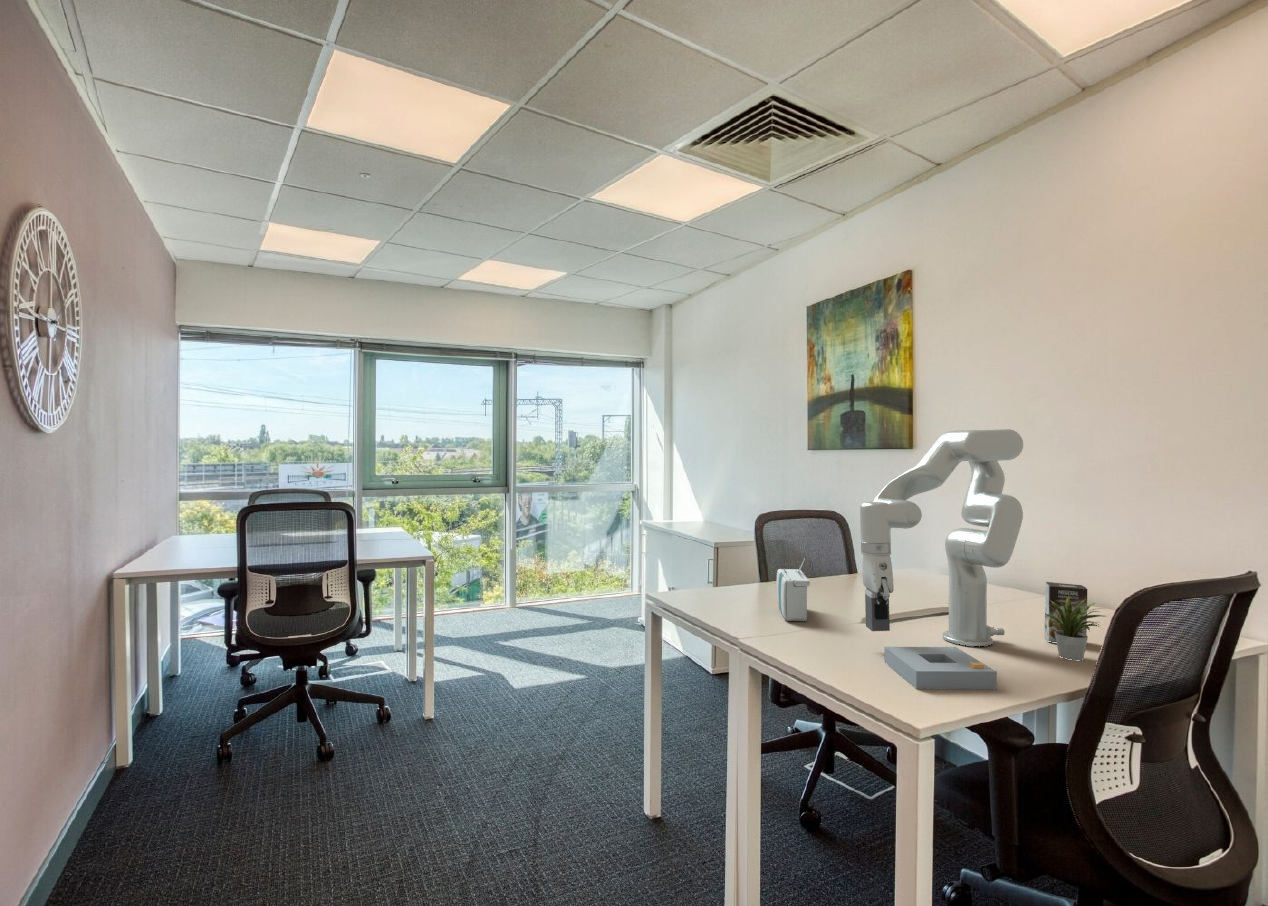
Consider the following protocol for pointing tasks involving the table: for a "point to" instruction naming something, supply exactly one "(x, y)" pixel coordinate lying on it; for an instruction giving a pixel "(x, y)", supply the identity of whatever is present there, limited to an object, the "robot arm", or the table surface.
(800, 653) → the table surface
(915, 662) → the socket
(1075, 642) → the house plant
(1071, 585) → the coffee box
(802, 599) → the stereo radio cassette player
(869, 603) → the plug
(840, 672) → the table surface
